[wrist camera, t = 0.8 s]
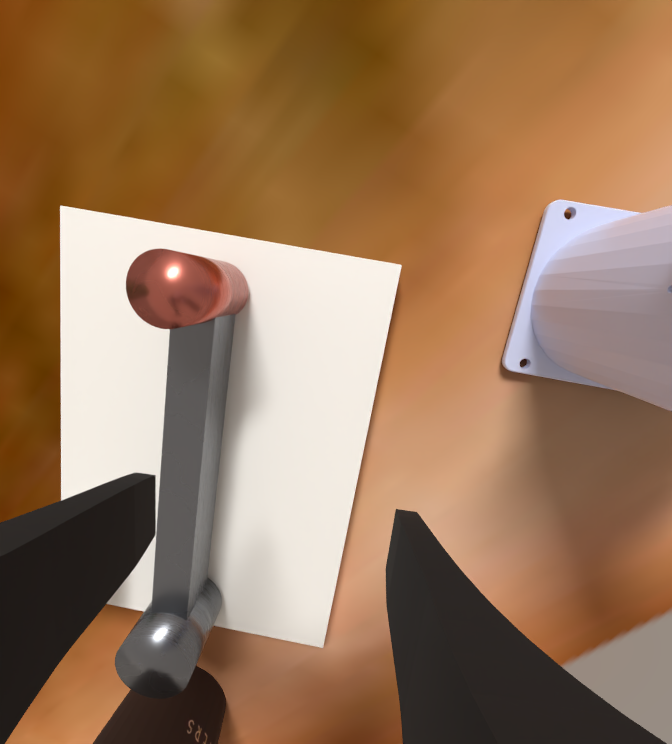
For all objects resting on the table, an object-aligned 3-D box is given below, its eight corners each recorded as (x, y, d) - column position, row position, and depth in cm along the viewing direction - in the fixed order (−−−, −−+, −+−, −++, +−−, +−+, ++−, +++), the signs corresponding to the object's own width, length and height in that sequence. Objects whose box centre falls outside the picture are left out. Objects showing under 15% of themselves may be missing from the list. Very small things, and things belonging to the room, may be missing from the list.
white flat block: (398, 267, 18) (410, 259, 13) (325, 625, 23) (317, 704, 18) (84, 212, 18) (-4, 187, 14) (80, 575, 23) (15, 641, 19)
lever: (218, 628, 21) (176, 730, 16) (159, 616, 21) (99, 714, 16) (262, 268, 16) (220, 258, 12) (185, 254, 17) (112, 239, 12)
